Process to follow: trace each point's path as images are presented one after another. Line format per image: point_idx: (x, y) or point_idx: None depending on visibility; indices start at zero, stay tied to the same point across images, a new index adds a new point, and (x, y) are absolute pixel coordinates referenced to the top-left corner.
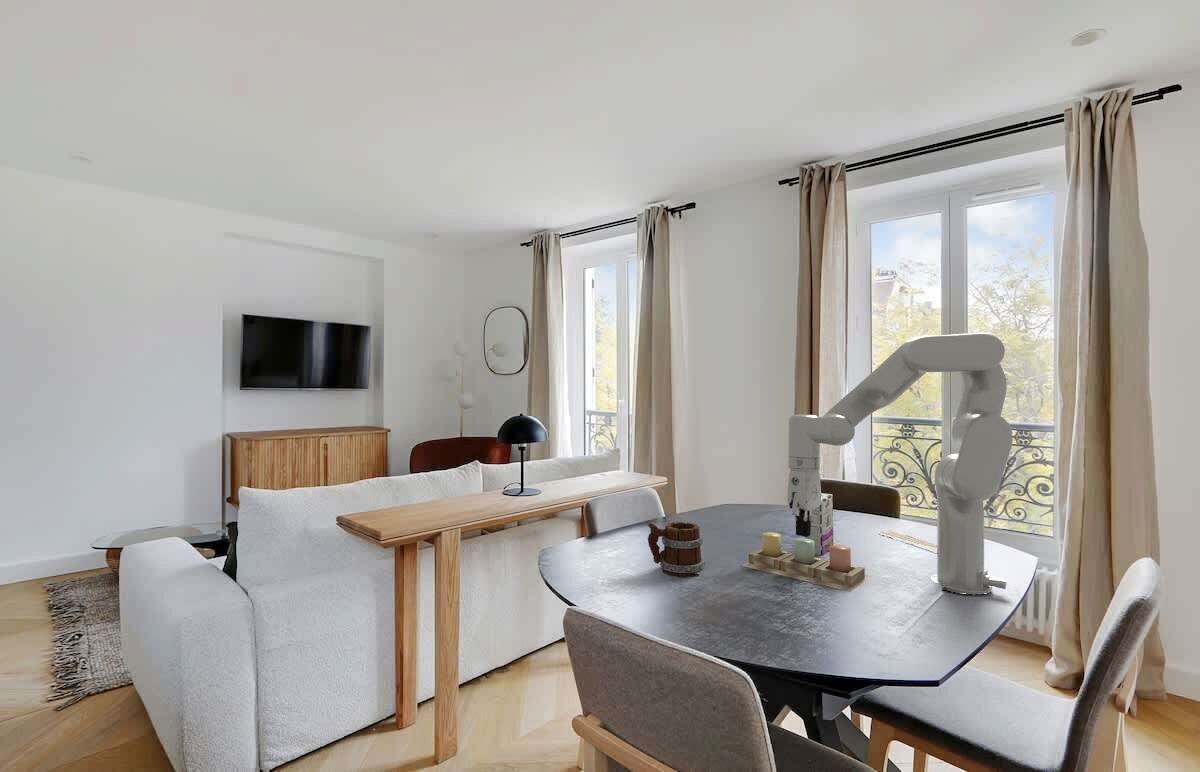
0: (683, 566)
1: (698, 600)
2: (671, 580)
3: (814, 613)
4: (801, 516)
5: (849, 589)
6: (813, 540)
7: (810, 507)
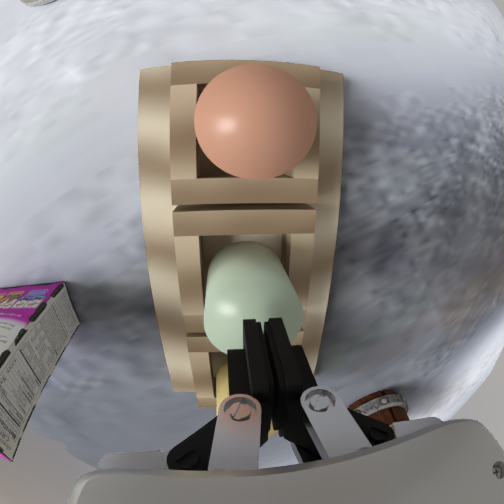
0: (407, 406)
1: (474, 316)
2: (414, 390)
3: (465, 134)
4: (374, 419)
5: (329, 78)
6: (50, 334)
7: (415, 455)
